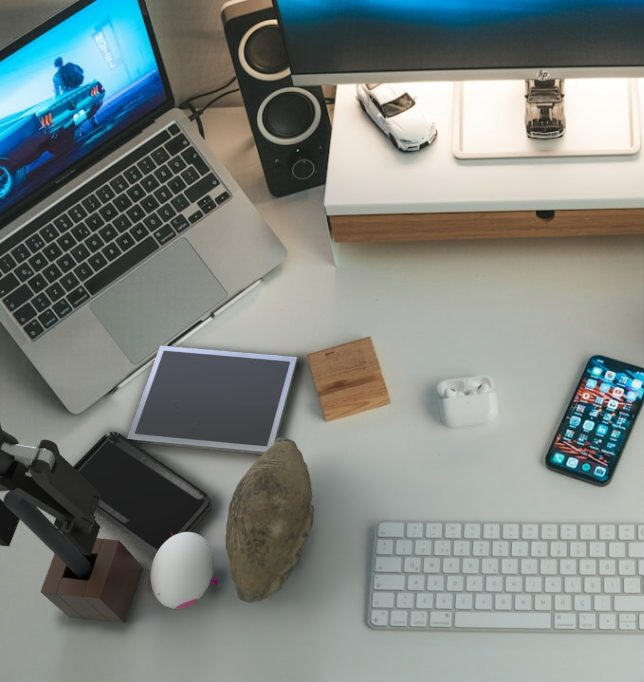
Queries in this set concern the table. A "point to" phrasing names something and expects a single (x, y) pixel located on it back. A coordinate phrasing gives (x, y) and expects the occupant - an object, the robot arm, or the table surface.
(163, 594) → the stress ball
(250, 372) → the tablet
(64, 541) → the stylus
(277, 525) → the stone
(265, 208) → the table surface
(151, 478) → the phone
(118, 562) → the pen stand
